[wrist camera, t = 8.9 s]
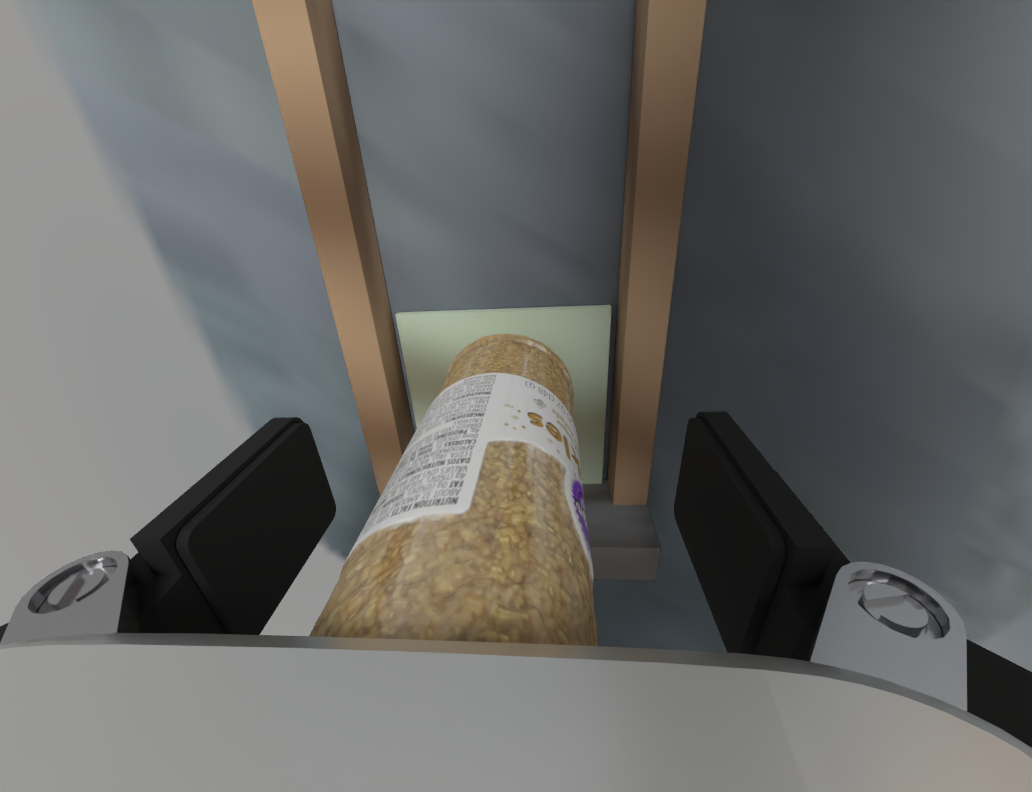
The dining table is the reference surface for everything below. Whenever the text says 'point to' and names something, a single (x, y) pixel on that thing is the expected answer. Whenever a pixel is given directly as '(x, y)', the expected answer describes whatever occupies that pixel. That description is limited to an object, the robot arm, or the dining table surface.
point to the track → (565, 330)
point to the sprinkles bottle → (479, 515)
